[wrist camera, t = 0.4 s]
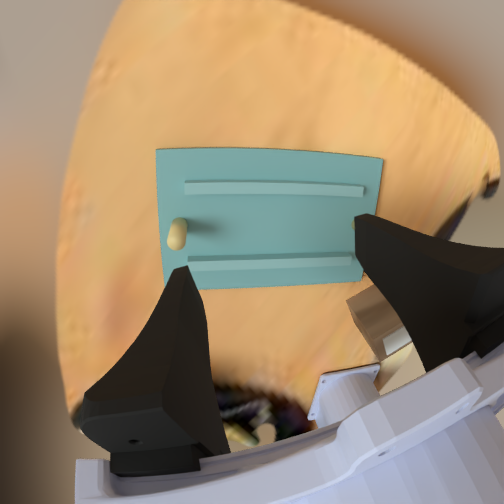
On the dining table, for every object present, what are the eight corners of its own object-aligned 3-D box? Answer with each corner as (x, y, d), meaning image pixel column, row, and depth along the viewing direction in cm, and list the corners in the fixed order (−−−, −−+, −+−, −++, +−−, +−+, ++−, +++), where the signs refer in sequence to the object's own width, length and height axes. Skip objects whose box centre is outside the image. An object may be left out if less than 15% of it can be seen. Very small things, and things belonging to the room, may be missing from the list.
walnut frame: (430, 275, 29) (464, 306, 23) (354, 322, 29) (380, 363, 24) (426, 250, 27) (464, 280, 22) (345, 299, 28) (373, 341, 22)
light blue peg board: (357, 277, 27) (376, 299, 24) (166, 286, 24) (161, 312, 21) (379, 158, 22) (404, 167, 19) (157, 149, 19) (148, 155, 16)
